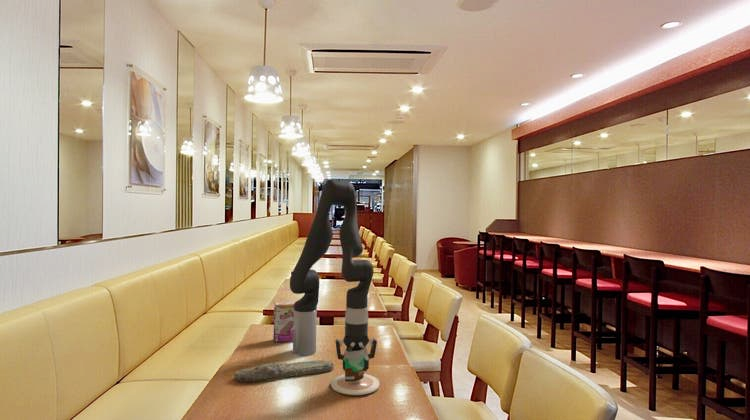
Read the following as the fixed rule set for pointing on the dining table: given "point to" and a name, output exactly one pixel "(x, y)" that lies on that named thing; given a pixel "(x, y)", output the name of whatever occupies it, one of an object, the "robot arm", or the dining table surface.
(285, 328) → the candy bar box
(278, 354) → the dining table surface
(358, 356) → the food container
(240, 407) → the dining table surface
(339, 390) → the dish
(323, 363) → the elongated rock
